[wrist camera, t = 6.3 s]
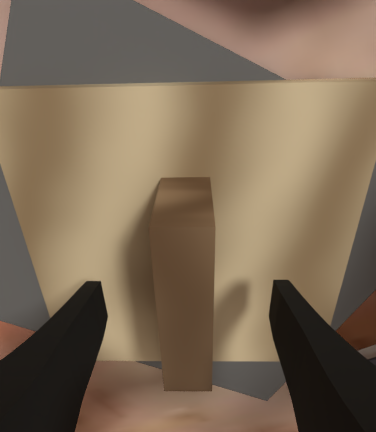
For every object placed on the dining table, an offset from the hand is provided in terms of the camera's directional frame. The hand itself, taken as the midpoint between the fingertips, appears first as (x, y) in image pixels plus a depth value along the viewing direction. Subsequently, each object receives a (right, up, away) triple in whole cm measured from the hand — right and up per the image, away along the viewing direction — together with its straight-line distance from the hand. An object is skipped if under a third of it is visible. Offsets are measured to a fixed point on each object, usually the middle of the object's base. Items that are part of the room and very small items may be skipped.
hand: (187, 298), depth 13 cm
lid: (0, +2, +2) cm, 3 cm away
